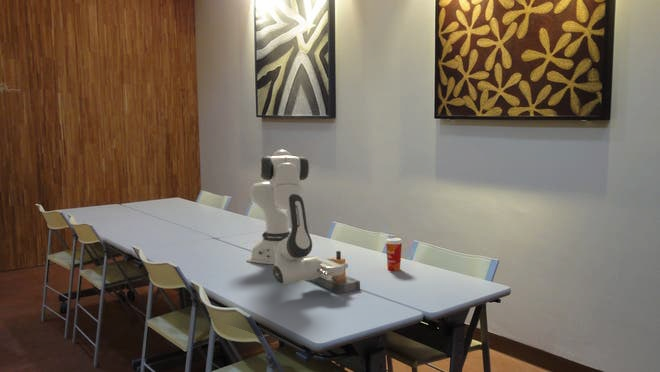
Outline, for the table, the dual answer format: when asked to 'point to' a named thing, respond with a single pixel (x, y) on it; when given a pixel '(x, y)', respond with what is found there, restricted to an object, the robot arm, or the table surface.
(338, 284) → the grey socket board
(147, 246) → the table surface
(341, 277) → the plug
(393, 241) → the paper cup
